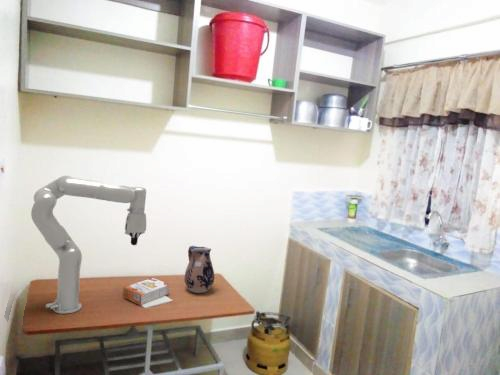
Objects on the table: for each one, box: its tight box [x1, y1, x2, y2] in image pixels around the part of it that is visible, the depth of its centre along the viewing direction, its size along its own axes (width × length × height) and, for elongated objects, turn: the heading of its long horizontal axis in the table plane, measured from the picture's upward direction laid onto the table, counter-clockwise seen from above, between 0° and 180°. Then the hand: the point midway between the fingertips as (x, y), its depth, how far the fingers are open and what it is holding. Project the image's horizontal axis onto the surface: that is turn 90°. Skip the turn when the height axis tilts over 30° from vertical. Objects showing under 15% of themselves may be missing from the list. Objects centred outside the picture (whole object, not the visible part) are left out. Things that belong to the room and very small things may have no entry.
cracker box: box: [122, 277, 171, 306], centre depth 201 cm, size 14×6×21 cm
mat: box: [140, 295, 173, 310], centre depth 200 cm, size 16×19×1 cm
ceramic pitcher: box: [184, 245, 215, 294], centre depth 217 cm, size 18×21×25 cm
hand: (133, 244), depth 195 cm, fingers closed
